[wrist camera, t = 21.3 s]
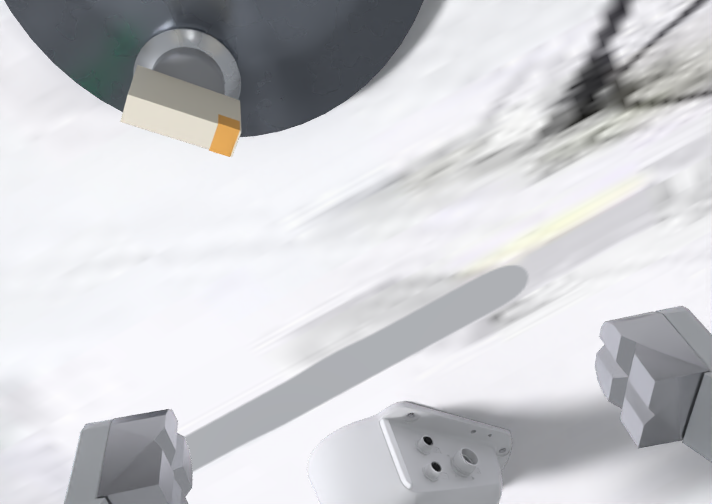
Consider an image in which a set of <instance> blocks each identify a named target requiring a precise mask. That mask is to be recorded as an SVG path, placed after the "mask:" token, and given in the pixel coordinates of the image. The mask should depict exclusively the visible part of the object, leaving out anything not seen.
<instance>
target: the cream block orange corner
mask: <svg viewBox="0 0 712 504" xmlns="http://www.w3.org/2000/svg"><path fill="white" fill-rule="evenodd" d="M120 122H122V123H126V124H129V125H132V126H135V127H138V128H142V129H145V130H148V131H151V132H154V133H158V134H161V135H164V136H167V137H170V138H174V139H177V140H180V141H183V142H186V143H190V144H193V145H196V146H199V147H202V148H206V149H209V151H212V152H216V153H219V154H222V155H225V156H228V157H230V156H231V157H232V156H233V153H234V151H235V148H236V145H237V143H238V140H239V137H240V134H241V110H240V100H238V99H235V98H232V97H229V96H226V95H225V81H224V76H223V73H222V71H221V68H220V67H219V65H218V64H217V63H216V61H215V60H214V59H213V58H212V57H211V56H209V55H208V54H206V53H205V52H203V51H201V50H198V49H195V48H190V47H178V48H174V49H171V50H169V51H167V52H165V53H163V54H162V55H161V56H160V57H159V58H158V59H157V60H156V62H155V63H154V65H153V68H152V70H151V69H148V68H145V67H142V66H140V65H137V67H136V70H135V73H134V77H133V80H132V83H131V86H130V89H129V92H128V95H127V99H126V103H125V106H124V110H123V114H122V118H121V121H120Z"/></svg>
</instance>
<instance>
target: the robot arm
mask: <svg viewBox="0 0 712 504" xmlns="http://www.w3.org/2000/svg"><path fill="white" fill-rule="evenodd" d="M599 337H600V338H601V340H602V341H603V343H604V344H605V345H604V346H603V347H602V348H601V349H600V350H599V351H598V352H597V354H596V362H595V368H596V374H597V380H598V382H599V385H600V387H601V389H602V391H603V393H604V395H605V396H606V398H607V400H608V401H609V402H611V403H613V404H615V405H616V406H618V407H620V408H622V411H621V417H620V420H621V422H622V424H623V425H624V427H625V428H626V430H627V431H628V433H629V435H630V436H631V438H632V439H633V441H634V442H635V444H636V446H637V447H638V448H642V447H648V446H653V445H659V444H664V443H669V442H675V441H680V440H683V442H682V443H684V444H685V445H687V446H688V447H690V448H691V449H693V450H694V451H696V452H697V453H699V454H700V455H702V456H703V457H704V458H706V459H707V460H709V461H710V462H712V334H711V333H710V332H709V331H708V330H707V329H706V328H705V327H704V326H703V324H702V323H701V322H700V321H699V320H698V319H697V318H696V317H695V316H694V315H693V313H692V312H691V311H690V310H689V309H688V308H686V307H683V306H678V307H673V308H669V309H664V310H659V311H656V312H648V313H643V314H639V315H634V316H629V317H624V318H620V319H615V320H610V321H605V322H604V324H603V325H602V327H601V331H600V336H599ZM409 413H413V414H412V415H407V414H409ZM177 425H178V421H177V418H176V416H175V414H174V412H173V410H172V409H166V410H160V411H155V412H149V413H143V414H137V415H132V416H126V417H120V418H114V419H111V420H105V421H100V422H94V423H88V424H85V426H84V428H83V429H82V431H81V432H80V436H79V440H78V445H77V449H76V453H75V458H74V462H73V466H72V471H71V475H70V479H69V484H68V488H67V492H66V496H65V501H64V504H188V502H187V500H186V498H185V497H186V495H187V494H188V492H189V491H190V490H191V488H192V474H193V473H192V464H191V455H190V451H189V447H188V444H187V442H186V439H185V437H184V436H182V435H180V434H178V433H177ZM502 448H504V449H502ZM500 449H502V450H500ZM511 449H512V438H511V434H510V431H508V430H506V429H503V428H499V427H496V426H492V425H489V424H485V423H481V422H478V421H474V420H470V419H467V418H463V417H460V416H456V415H452V414H449V413H445V412H441V411H438V410H434V409H431V408H427V407H423V406H420V405H416V404H412V403H409V402H397V403H395V404H392V405H390V406H389V407H387V408H385V409H384V410H382V411H381V412H379V413H378V414H376V415H374V416H372V417H369V418H366V419H362V420H359V421H356V422H353V423H351V424H348V425H346V426H344V427H342V428H340V429H338V430H336V431H334V432H333V433H331V434H330V435H328V436H327V437H325V438H324V439H323V440H322V441H321V442H320V443H319V444H318V445H317V446H316V447H315V449H314V450H313V451H312V453H311V455H310V457H309V459H308V463H307V476H308V479H309V481H310V483H311V485H312V487H313V489H314V491H315V493H316V496H317V498H318V501H319V504H499V501H500V498H501V495H502V475H501V471H502V470H503V468H504V466H505V464H506V462H507V460H508V458H509V456H510V453H511Z"/></svg>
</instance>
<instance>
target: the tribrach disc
mask: <svg viewBox="0 0 712 504" xmlns="http://www.w3.org/2000/svg"><path fill="white" fill-rule="evenodd" d="M5 2H6V4H7V6H8V7H9V9H10V11H11V12H12V14H13V15H14V16H15V18H16V19H17V20H18V22H19V23H20V24H21V26H22V27H23V28H24V30H25V31H26V32H27V34H28V35H29V37H30V38H31V39H32V40H33V41H34V42H35V43H36V45H37V46H38V47H39V48H40V49H41V50H42V51H43V52H44V53H45V54H46V55H47V56H48V58H49V59H50V60H51V61H52V62H53V63H54V64H55V65H57V66H58V67H59V68H60V69H61V70H62V71H63V72H65V73H66V74H67V75H68V76H69V77H70V78H71V79H73V80H74V81H75V82H76V83H77V84H79V85H80V86H82V87H83V88H84V89H86V90H87V91H89V92H90V93H92V94H93V95H94V96H96V97H97V98H99V99H100V100H102V101H104V102H105V103H107V104H109V105H111V106H113V107H115V108H116V109H118V110H120V111H122V112H123V110H124V106H125V103H126V99H127V95H128V92H129V89H130V86H131V83H132V80H133V77H134V73H135V70H136V67H137V65H140V66H142V67H145V68H148V69H151V70H152V68H153V65H154V63H155V62H156V60H157V59H158V58H159V57H160V56H161V55H162V54H163V53H165V52H167V51H169V50H171V49H174V48H178V47H190V48H195V49H198V50H201V51H203V52H205V53H206V54H208V55H209V56H211V57H212V58H213V59H214V60H215V61H216V63H217V64H218V65H219V67H220V68H221V71H222V73H223V76H224V81H225V95H226V96H229V97H232V98H235V99H238V100H240V110H241V134H240V137H248V136H257V135H263V134H268V133H273V132H278V131H282V130H285V129H288V128H291V127H294V126H298V125H301V124H303V123H306V122H308V121H310V120H312V119H314V118H316V117H319V116H321V115H323V114H325V113H327V112H328V111H330V110H332V109H333V108H335V107H336V106H338V105H340V104H341V103H343V102H345V101H346V100H347V99H349V98H350V97H351V96H352V95H354V94H355V93H356V92H357V91H359V90H360V89H361V88H362V87H364V86H365V85H366V84H367V83H368V82H369V81H370V80H371V79H372V78H373V77H374V76H375V75H376V74H377V73H378V72H379V71H380V70H381V69H382V68H383V67H384V66H385V64H386V63H387V62H388V60H389V59H390V58H391V56H392V55H393V54H394V52H395V51H396V50H397V49H398V47H399V46H400V45H401V43H402V41H403V39H404V38H405V36H406V34H407V33H408V31H409V29H410V28H411V26H412V24H413V22H414V21H415V18H416V16H417V14H418V12H419V9H420V7H421V5H422V3H423V0H5Z"/></svg>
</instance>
